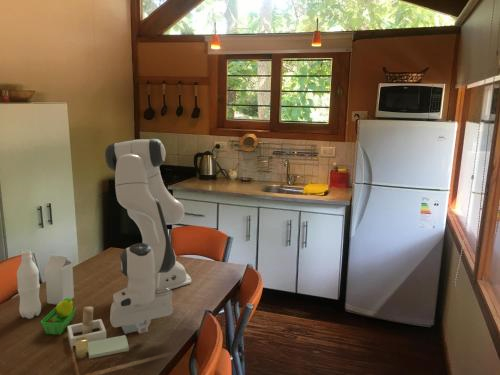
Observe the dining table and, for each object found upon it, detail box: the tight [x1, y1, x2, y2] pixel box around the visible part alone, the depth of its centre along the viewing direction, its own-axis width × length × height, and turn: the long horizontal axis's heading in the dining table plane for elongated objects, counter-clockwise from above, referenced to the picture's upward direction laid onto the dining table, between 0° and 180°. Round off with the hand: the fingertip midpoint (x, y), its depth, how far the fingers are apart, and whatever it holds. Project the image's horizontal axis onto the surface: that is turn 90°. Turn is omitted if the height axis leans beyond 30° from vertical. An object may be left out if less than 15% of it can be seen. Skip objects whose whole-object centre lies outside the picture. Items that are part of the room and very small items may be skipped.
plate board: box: [88, 334, 130, 359], centre depth 136 cm, size 12×8×2 cm, turn 114°
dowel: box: [81, 305, 94, 335], centre depth 142 cm, size 3×3×10 cm
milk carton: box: [44, 254, 75, 306], centre depth 166 cm, size 7×7×19 cm
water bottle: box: [16, 249, 42, 320], centre depth 154 cm, size 7×7×25 cm
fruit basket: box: [40, 298, 77, 335], centre depth 147 cm, size 11×9×11 cm
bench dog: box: [75, 337, 89, 359], centre depth 131 cm, size 4×4×6 cm
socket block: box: [120, 321, 145, 335], centre depth 149 cm, size 7×7×4 cm
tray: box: [67, 318, 107, 350], centre depth 142 cm, size 11×9×4 cm
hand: (142, 331), depth 140 cm, fingers closed
